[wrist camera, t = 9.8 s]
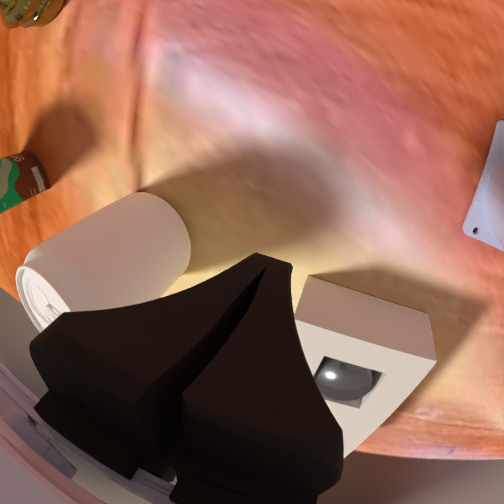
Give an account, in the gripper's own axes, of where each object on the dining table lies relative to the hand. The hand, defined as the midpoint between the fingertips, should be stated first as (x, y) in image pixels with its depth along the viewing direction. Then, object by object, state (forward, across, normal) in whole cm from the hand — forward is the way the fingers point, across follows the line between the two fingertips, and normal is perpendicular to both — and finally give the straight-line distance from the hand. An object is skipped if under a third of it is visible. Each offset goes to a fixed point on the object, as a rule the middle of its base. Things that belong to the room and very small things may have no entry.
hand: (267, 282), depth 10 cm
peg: (+10, -6, +10) cm, 16 cm away
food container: (+11, +32, +4) cm, 34 cm away
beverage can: (+11, +12, +7) cm, 17 cm away
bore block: (+10, -6, +15) cm, 19 cm away
